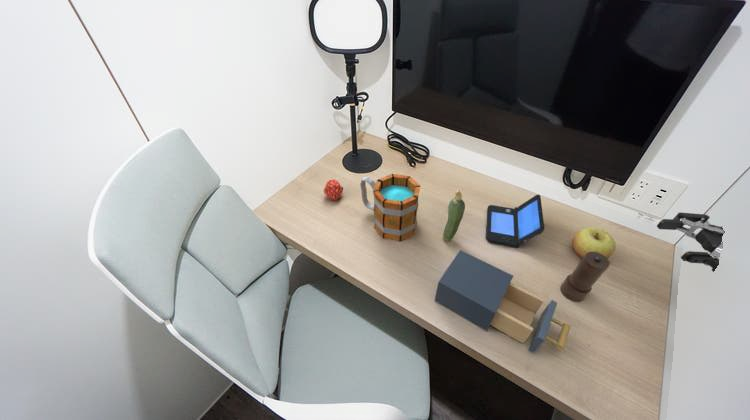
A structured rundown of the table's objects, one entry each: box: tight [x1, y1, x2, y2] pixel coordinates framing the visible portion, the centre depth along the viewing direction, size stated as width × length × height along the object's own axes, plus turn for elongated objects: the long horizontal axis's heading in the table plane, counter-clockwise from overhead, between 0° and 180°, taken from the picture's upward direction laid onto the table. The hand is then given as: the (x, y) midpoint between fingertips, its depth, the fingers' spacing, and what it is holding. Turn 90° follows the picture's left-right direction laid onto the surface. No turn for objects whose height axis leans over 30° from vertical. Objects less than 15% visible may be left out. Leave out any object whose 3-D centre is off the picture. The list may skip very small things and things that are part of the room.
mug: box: [359, 173, 421, 242], centre depth 94 cm, size 20×14×15 cm
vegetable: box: [442, 189, 466, 242], centre depth 86 cm, size 4×4×20 cm
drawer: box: [489, 281, 571, 354], centre depth 71 cm, size 17×10×7 cm, turn 54°
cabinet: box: [434, 249, 514, 332], centre depth 76 cm, size 14×12×9 cm
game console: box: [485, 194, 545, 249], centre depth 93 cm, size 16×13×9 cm
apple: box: [571, 226, 616, 260], centre depth 86 cm, size 10×10×8 cm
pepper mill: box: [560, 252, 611, 303], centre depth 75 cm, size 6×6×14 cm
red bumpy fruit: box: [323, 179, 344, 201], centre depth 106 cm, size 6×7×8 cm
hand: (671, 239), depth 64 cm, fingers open, 8 cm apart
